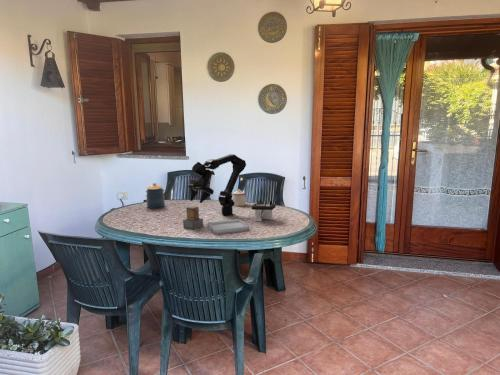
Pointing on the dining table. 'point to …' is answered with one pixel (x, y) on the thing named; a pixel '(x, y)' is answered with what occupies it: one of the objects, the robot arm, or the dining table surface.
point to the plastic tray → (228, 226)
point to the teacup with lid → (239, 198)
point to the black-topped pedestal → (263, 210)
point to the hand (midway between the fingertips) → (195, 201)
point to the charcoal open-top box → (193, 223)
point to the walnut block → (192, 213)
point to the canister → (155, 196)
